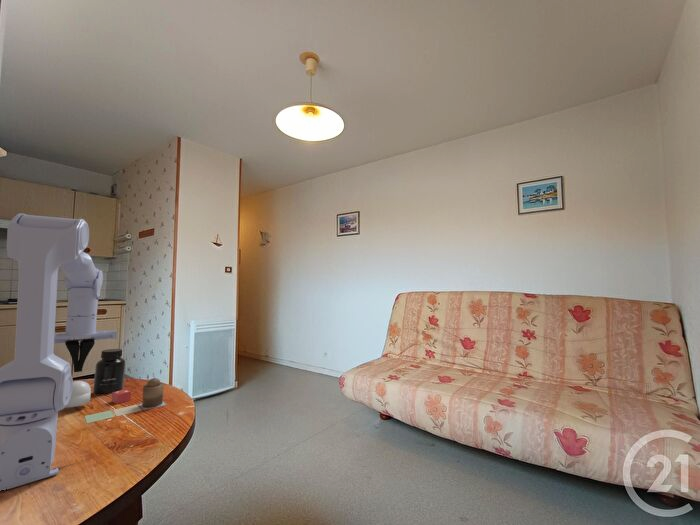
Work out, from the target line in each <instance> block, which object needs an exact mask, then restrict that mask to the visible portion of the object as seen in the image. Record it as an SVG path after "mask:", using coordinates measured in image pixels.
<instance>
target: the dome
mask: <svg viewBox="0 0 700 525" xmlns="http://www.w3.org/2000/svg"><path fill="white" fill-rule="evenodd" d="M91 394H92V389H91V385H90V384H89V383H88V382H86V381H82V380H76V381H75V380H74V381H73V388H72V394H71V398H70V401H69V403H68V404H67V406H65V407H64V408H63V409H65V408H66V409H68V408H69V409H70V408H75V407H80V406H83V405H86V404H89V403H90V401H91Z"/></svg>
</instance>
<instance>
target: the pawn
mask: <svg viewBox="0 0 700 525" xmlns="http://www.w3.org/2000/svg"><path fill="white" fill-rule="evenodd" d="M163 399H164V382H161V380H160V379H159V378H157V377H153V378H151V379H149V380H148V381H147V382H146V384H145V385H143V388H142V402H141V404H142V407H144V408H151V407H155V408H157V407H156V406H159V405H161V404H162V402H164V400H163ZM159 407H160V406H159ZM151 409H152V408H151Z"/></svg>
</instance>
